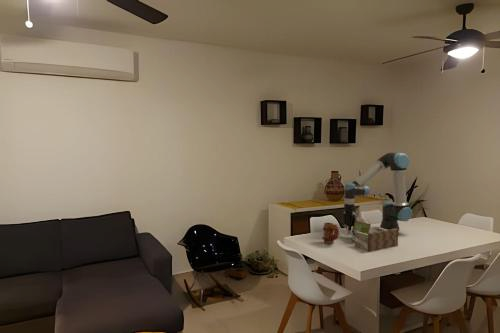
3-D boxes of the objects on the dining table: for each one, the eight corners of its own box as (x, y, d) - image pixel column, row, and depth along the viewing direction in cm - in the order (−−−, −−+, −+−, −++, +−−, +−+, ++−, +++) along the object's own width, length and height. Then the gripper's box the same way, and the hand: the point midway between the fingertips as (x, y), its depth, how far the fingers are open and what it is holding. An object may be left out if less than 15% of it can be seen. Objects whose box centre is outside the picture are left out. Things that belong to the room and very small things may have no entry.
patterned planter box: (381, 240, 257) (381, 224, 256) (397, 245, 244) (398, 229, 243) (353, 246, 243) (353, 229, 242) (369, 251, 231) (370, 234, 230)
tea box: (366, 243, 249) (371, 224, 248) (352, 240, 251) (356, 220, 250) (364, 238, 264) (368, 219, 263) (350, 234, 266) (355, 216, 264)
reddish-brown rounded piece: (320, 241, 254) (320, 221, 253) (329, 240, 257) (329, 220, 256) (332, 247, 240) (332, 225, 239) (341, 246, 244) (342, 224, 243)
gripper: (339, 202, 268) (338, 232, 270) (352, 205, 257) (351, 236, 258) (346, 202, 272) (346, 231, 273) (359, 204, 260) (358, 235, 262)
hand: (348, 234), depth 266 cm, fingers closed
